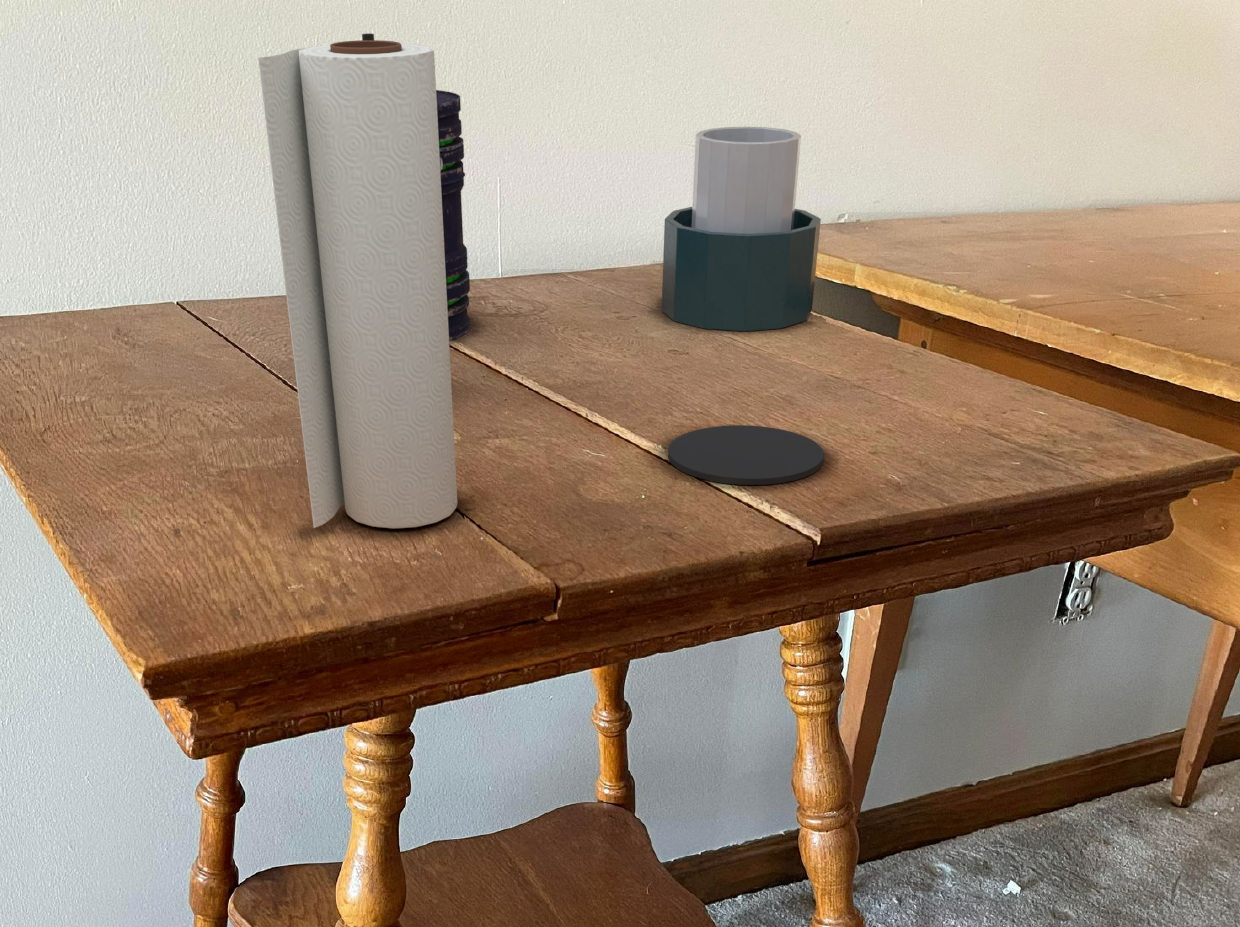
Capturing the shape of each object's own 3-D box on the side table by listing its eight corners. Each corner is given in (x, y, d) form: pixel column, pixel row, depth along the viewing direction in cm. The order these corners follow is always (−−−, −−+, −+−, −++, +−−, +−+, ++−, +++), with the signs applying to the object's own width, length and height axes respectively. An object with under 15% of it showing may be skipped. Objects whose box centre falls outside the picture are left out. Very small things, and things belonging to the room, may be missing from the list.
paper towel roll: (463, 490, 76) (441, 36, 63) (451, 533, 72) (425, 51, 59) (333, 489, 77) (285, 36, 64) (313, 531, 72) (257, 51, 59)
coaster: (831, 438, 83) (832, 432, 83) (812, 492, 76) (813, 485, 76) (684, 426, 85) (685, 419, 85) (652, 477, 78) (653, 470, 78)
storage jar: (374, 306, 108) (356, 85, 99) (491, 316, 105) (484, 91, 96) (315, 339, 100) (289, 104, 91) (439, 352, 98) (425, 111, 89)
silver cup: (791, 301, 108) (806, 128, 101) (777, 326, 103) (792, 145, 95) (698, 296, 110) (707, 124, 103) (679, 320, 104) (687, 140, 97)
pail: (818, 297, 109) (827, 207, 105) (799, 335, 101) (808, 238, 97) (679, 288, 112) (683, 200, 108) (649, 324, 103) (652, 230, 99)
